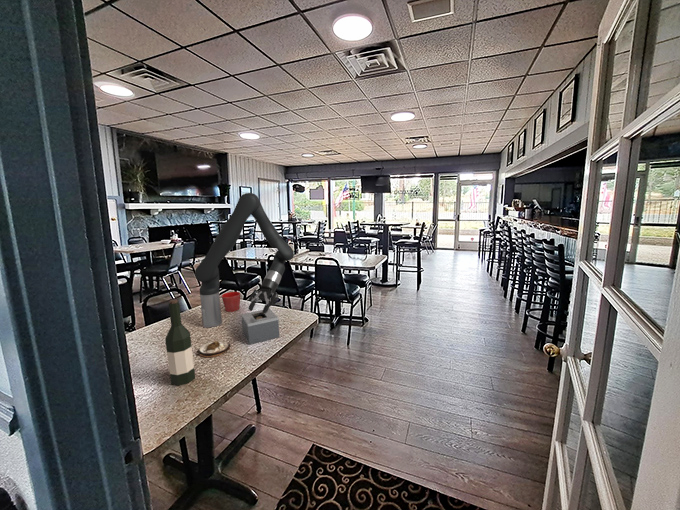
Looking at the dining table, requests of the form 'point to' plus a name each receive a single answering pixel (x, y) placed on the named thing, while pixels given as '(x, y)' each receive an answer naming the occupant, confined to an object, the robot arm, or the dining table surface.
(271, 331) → the box
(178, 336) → the wine bottle
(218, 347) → the plate of food
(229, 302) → the flower pot
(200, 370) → the dining table surface
